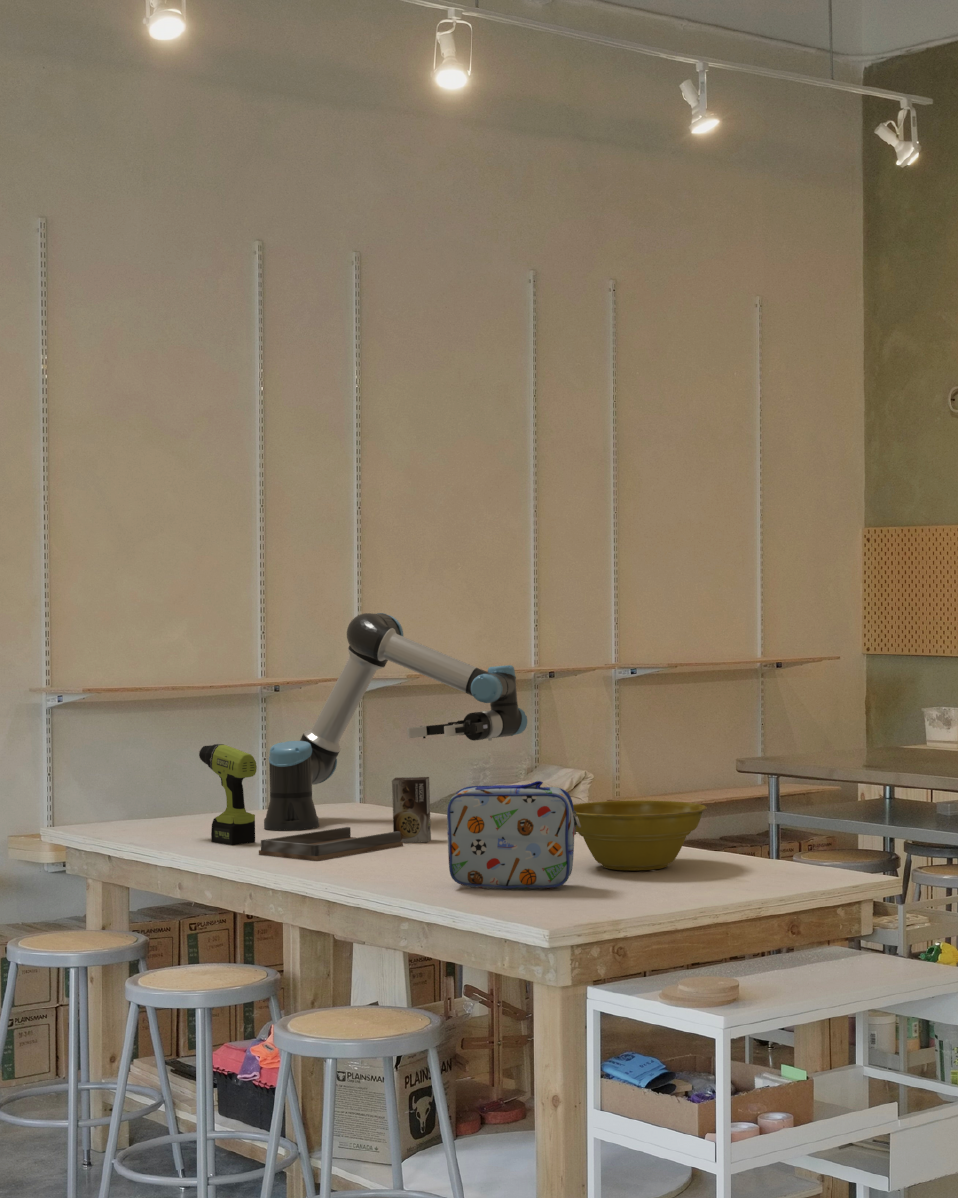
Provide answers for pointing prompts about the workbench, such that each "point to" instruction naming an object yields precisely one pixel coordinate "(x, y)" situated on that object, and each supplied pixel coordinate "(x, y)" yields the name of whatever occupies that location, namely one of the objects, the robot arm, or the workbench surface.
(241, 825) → the cordless drill
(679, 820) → the planter bowl
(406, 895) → the workbench surface
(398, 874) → the workbench surface
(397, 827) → the coffee box
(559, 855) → the lunch box
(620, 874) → the workbench surface
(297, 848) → the brown tray
